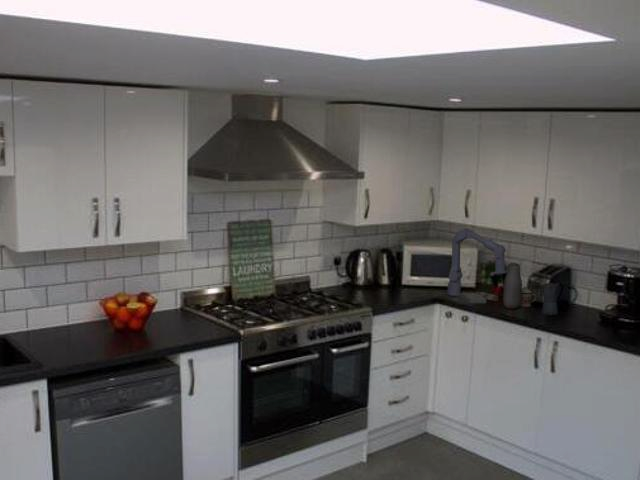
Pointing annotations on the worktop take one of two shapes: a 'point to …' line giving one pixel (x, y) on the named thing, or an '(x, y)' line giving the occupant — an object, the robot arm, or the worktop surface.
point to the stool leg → (488, 296)
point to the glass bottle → (512, 286)
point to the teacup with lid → (526, 297)
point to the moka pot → (550, 297)
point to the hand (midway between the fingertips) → (500, 286)
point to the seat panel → (473, 297)
